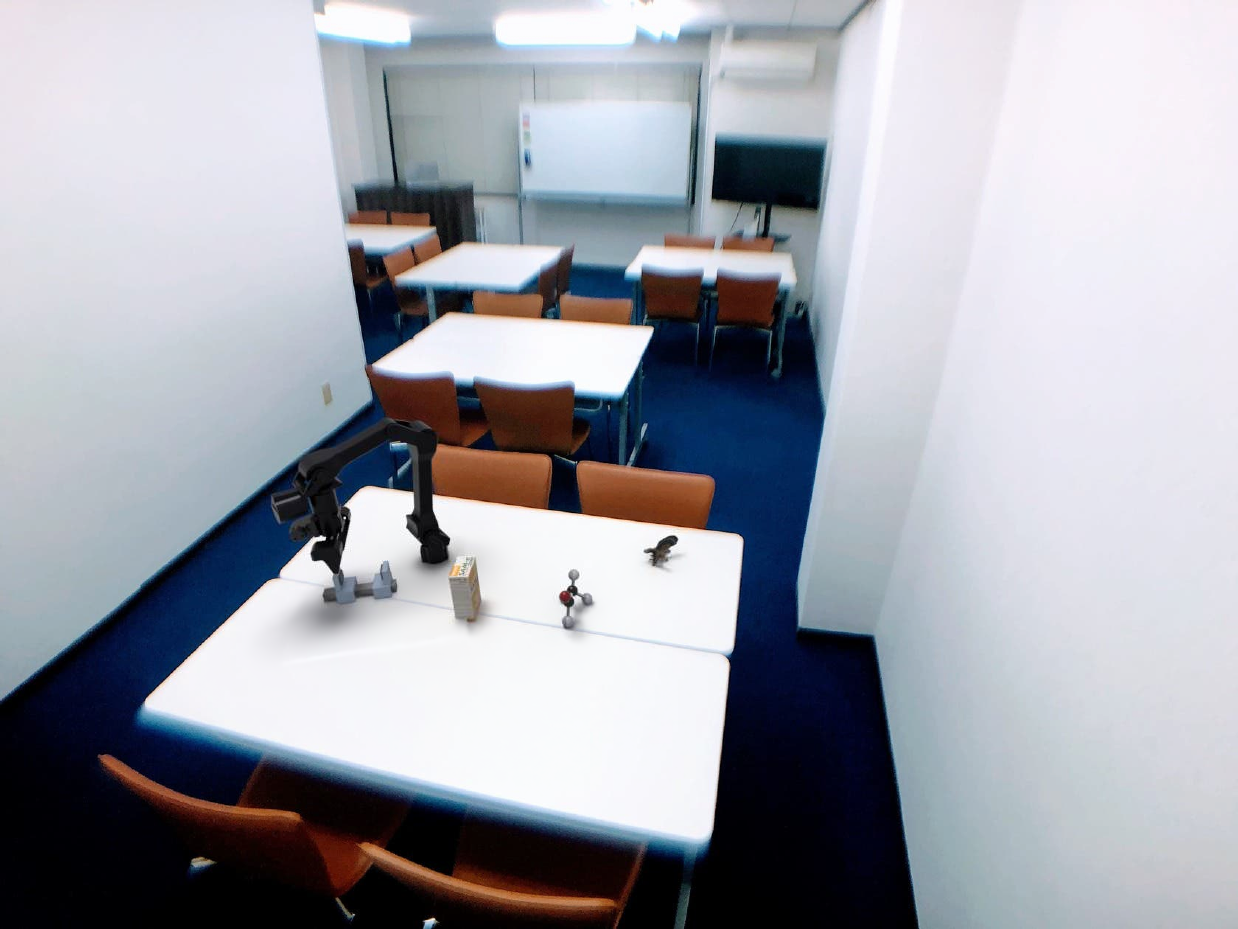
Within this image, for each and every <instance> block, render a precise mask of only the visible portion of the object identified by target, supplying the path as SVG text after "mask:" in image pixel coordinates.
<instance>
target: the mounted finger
mask: <svg viewBox="0 0 1238 929" xmlns="http://www.w3.org/2000/svg"><path fill="white" fill-rule="evenodd" d="M389 562H390V561H389V560H383V561H382V563H380V568H379V569H380V570H379V572H378V573H377V572H376V573H374V576H373V581H372V582H373V587H372V590H373V594H374V595H373V598H374V599H375V600H377V599H383V598H392V596H393V594H392V593H393V592H392V593H391V580H392V579H394V578H393V572H392V571H391V567H390V563H389Z"/></svg>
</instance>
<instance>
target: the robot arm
mask: <svg viewBox="0 0 1238 929" xmlns="http://www.w3.org/2000/svg"><path fill="white" fill-rule="evenodd" d="M390 440H395V441H398V442H402V443H404V444H406V446H407V448H408V451H409V453H410V456H411V459H412V460H411V461H412V462H411V463H412V484H413V485H412V487H413V488H412V489H413V491H412V492H413V510H412V512H411V513H409V514H406V515H405V518H406V526H405V528H406V529H407V530H408V532H409V534H411V535H412V536H413V537H414V539H416V540H417V542H419V544H420V546H419V547H420V549H419V553H420V558H421V563H424V564H430V565H439V564H442V563H444V562H445V561H448V560H449V559H450V553H449V552H450V551H449V546H450V543H451V538H450V536H449V535H448V534H447V533H446V532H445V531H443V530H442V529H441V528H440V526H439V525H440V524H439V521H438V519H437V517H436V513H435V511H434V498H433V497H434V495H433V494H434V493H433V458H434V456H435V454H436V453H437V449H438V444H439V443H438V442H439V435H438V433H437V432H436V431H435V430H434V429H433V428H431V427H430V426H429V425H427V424H426V423H424V422H423V421H421V420H413V421H408V420H403V419H393V418H390V417H383V418H381V419H379V421H378V422H376V423H374V424H373V425H371V426H369V427H367V428H366V429H363V430H362V431H361V432H359V433H357V434H355V435H354V436H353V435H352V437H349V438H348V439H346V440H345V441H342V442H341V443H339V444H337V445H335V446H332V447H329V448H322V449H321V448H320V449H318V450H315V451H312V452H310V453H307V454H305V455H303V456H302V457H301V458H300V459H299V463H298V471H297V472H296V474H295V476H294V478H293V480H292V485H293V486H294V487H293V488H290V489H286V490H283V491H279V492H273V493H272V494H270V497H271V498H270V500H271V502H270V503H271V504H270V505H271V509H272V511H273V512H272V513H273V514H274V516H275V518H276V521H277V522H278V524H279V525H280V524H283V523H286V522H287V523H288V522H289V521H293V520H294V521H293V522H291V525H290V528H289V530H288V535H289V536H290V538H289V539H290V541H294V542H295V543H300V542H302V541H304V540H306V539H307V538H309V537H311V536H313V538H320V537H322V538H325V539H323V540H317V541H315V542H314V543H313V544H312V547H311V550H310V553H309V555H310V558H311V561H313V562H320V561H321V562H323V563H325V565H326V566H327V567H328V568H329V570H330V571H331V572H332V575H333V574H338V573H339V569H340V568H341V564H342V557H343V554H344V552H345V548H346V544H347V539H348V534H349V530H350V525H351V519H352V518H351V517H352V512H351V509H350V508H349V507H348V506H344V505H343V506H342V504H341V503H339V501H338V498H337V493H336V489H337V488H340V487H343V486H344V483H343V482H342V480H340V478H338V476H339V475H340V473H341V471H343V469H344V468H345V467H346V466H347V465H349V464H350V463H352V462H353V461H355V460H357V459H359V458H360V457H362V456H365V455H366V454H368V453H369V452H372V451H373V450H375V449H377V448H378V447H380V446H381V445H383V444H385V443H386V442H388V441H390ZM306 481H307V482H308V483H307V482H306ZM310 509H311V513H310V514H309V510H310ZM295 519H296V520H295Z"/></svg>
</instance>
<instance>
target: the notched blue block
mask: <svg viewBox="0 0 1238 929" xmlns="http://www.w3.org/2000/svg"><path fill="white" fill-rule="evenodd" d="M341 568H342V567H340V569H339V573H338V574H333V573H332V577H331V578H332V582H333V586H334V587H335V590H336V593H335V594H336V598H337V600H336V602H337V604H338V605H340V604H341V605H342V604H347V603H348V604H349V603H355V602H356V601H357V597H356V598H355V594H354V591H355V586H356V584H359V583H358V580H357V576H349V577H345V575H344V571H343V569H341Z"/></svg>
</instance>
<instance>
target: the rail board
mask: <svg viewBox="0 0 1238 929" xmlns="http://www.w3.org/2000/svg"><path fill="white" fill-rule="evenodd" d="M397 583H398V582H397V579H396V578H393V579H392V580H391V593H396V592H397V590H398V584H397ZM372 587H373V581H371V582H364V583H358V584H356V586H355V591H354V594H355V598H356V599H357V598H362V597H369V596H374V594H373V590H372ZM322 591H323V592H322V598H323V602H324V603H327V602H332V601H333V602H334V601H337V598H336V594H335V593H336V590H335V587H327V588H326V587H325V588H324V589H323V590H322Z"/></svg>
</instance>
